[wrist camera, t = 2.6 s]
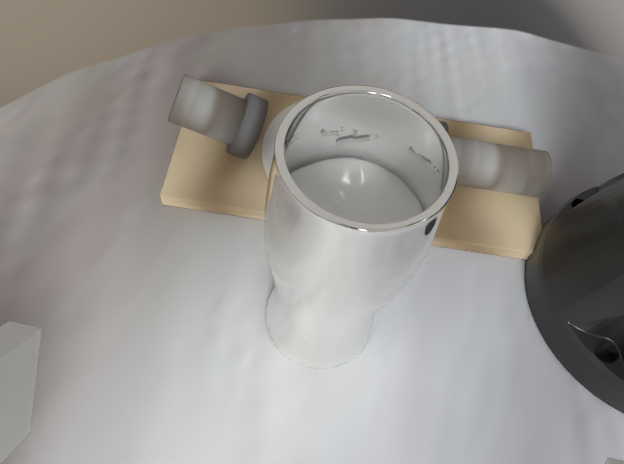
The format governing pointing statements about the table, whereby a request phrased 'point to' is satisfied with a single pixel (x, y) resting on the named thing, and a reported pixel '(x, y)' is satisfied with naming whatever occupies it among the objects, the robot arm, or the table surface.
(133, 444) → the table surface
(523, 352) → the table surface
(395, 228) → the beer glass
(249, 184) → the shaft cradle
